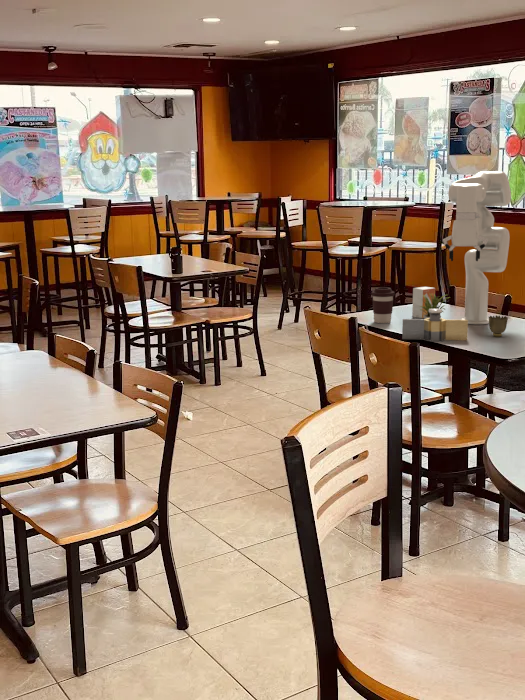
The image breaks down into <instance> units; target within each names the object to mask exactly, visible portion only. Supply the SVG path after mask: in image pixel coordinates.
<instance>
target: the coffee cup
mask: <svg viewBox="0 0 525 700" xmlns="http://www.w3.org/2000/svg"><path fill="white" fill-rule="evenodd" d="M371 296H372V312H373V321H374V322H375V323H376V324H389V323H391V322H392V315H393V314H392V313H393V310H394V309H393V306H394V296H395V291H394V290H392V288H391V287H386V286H380V287H379V286H378V287H375V289H374V290H372V291H371Z"/></svg>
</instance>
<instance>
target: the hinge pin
mask: <svg viewBox="0 0 525 700" xmlns="http://www.w3.org/2000/svg"><path fill="white" fill-rule="evenodd" d="M442 311H443V308H441V309H440V308H439V309H435V308H434V309H429V313H430V321H440V316H441V314H442V313H443V312H442Z"/></svg>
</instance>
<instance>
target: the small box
mask: <svg viewBox="0 0 525 700" xmlns="http://www.w3.org/2000/svg"><path fill="white" fill-rule="evenodd" d="M429 293H430V294H431V295H430V294H429ZM434 294H435V295H436V288H435V287H433V286H432V287H430V286H420V287H413V288H412V317H413V318H417V319H424V315H428V313H427V311H426V310H425V309H424V308H422V307H420V306H423V307H424V306H425V303H424V302H426V300H425V298H424V296H425V297H427V298H428V300H429V302H430V303H431V305H432V299H431V296H432V297H433V299H434ZM423 295H424V296H423ZM421 299H422V300H423V301H424V302H423V301H422V300H421ZM425 308H426V307H425ZM419 309H422V310H419ZM423 310H424V311H425V312H426V313H427V314H426V313H425V312H424V311H423Z"/></svg>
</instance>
